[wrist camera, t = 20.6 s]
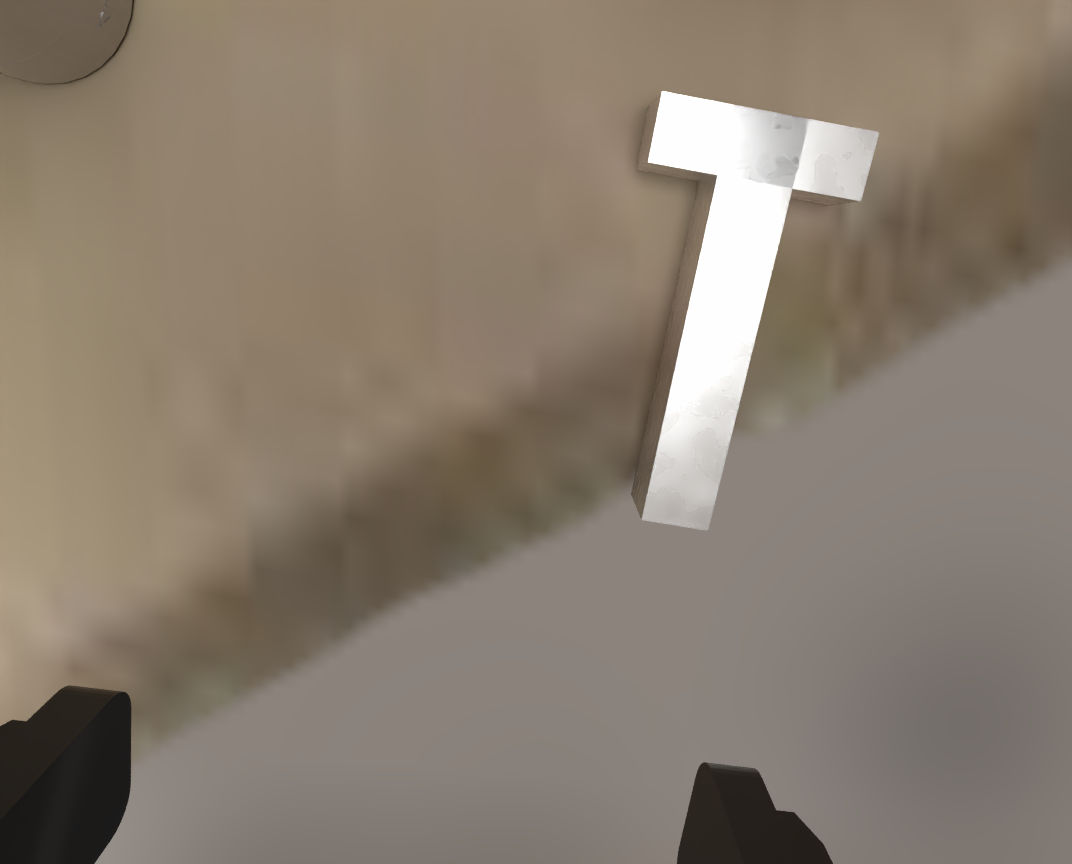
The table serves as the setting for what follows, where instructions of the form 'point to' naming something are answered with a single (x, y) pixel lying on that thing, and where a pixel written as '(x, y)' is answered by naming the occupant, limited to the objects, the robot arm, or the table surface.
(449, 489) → the table surface
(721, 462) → the toggle bar
